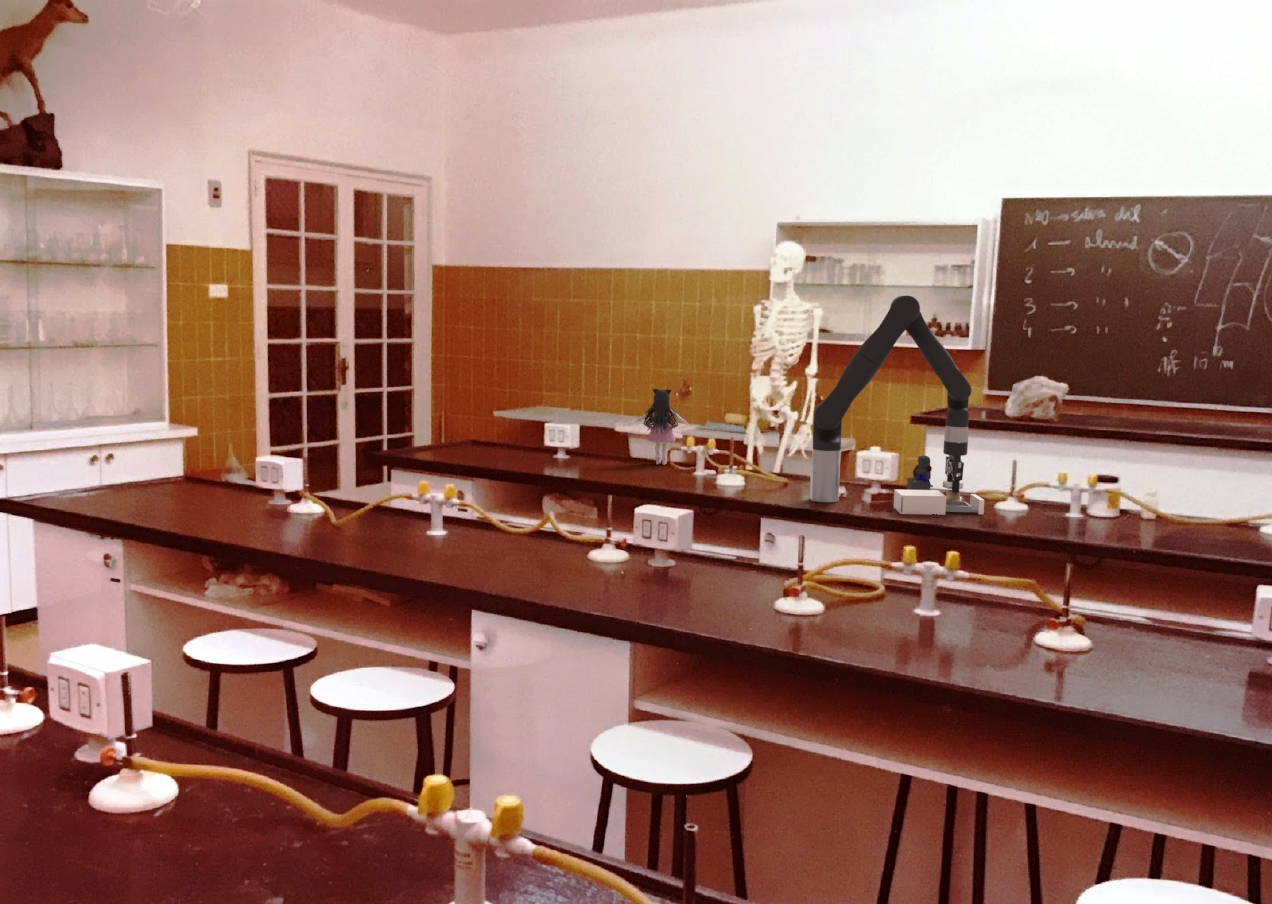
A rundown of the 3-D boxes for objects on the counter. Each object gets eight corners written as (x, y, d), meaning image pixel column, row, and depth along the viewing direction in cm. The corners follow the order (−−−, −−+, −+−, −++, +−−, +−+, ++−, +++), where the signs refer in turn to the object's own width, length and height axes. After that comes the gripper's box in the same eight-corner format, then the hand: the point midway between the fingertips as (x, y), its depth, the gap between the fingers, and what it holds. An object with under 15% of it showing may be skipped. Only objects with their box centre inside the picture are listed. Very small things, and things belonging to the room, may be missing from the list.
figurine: (690, 463, 456) (692, 389, 452) (686, 467, 446) (687, 391, 442) (636, 461, 461) (637, 387, 457) (630, 464, 451) (631, 389, 447)
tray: (932, 513, 359) (933, 499, 358) (924, 507, 369) (925, 493, 369) (983, 514, 359) (984, 500, 358) (974, 508, 369) (975, 494, 368)
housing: (900, 513, 359) (901, 495, 358) (893, 507, 370) (894, 489, 369) (945, 514, 359) (946, 496, 358) (937, 508, 370) (937, 490, 369)
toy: (906, 495, 392) (908, 452, 390) (934, 498, 388) (937, 454, 386) (898, 500, 383) (901, 456, 381) (927, 503, 379) (930, 458, 377)
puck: (945, 488, 370) (945, 483, 369) (940, 485, 376) (940, 480, 376) (965, 489, 369) (965, 484, 369) (960, 485, 376) (960, 481, 375)
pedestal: (947, 507, 371) (948, 492, 371) (944, 504, 376) (944, 489, 375) (961, 507, 371) (961, 492, 371) (957, 505, 376) (958, 490, 375)
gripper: (939, 436, 378) (935, 486, 380) (949, 442, 363) (946, 494, 366) (961, 437, 377) (958, 487, 380) (973, 443, 363) (970, 494, 366)
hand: (952, 490), depth 373 cm, fingers closed on puck, 6 cm apart
